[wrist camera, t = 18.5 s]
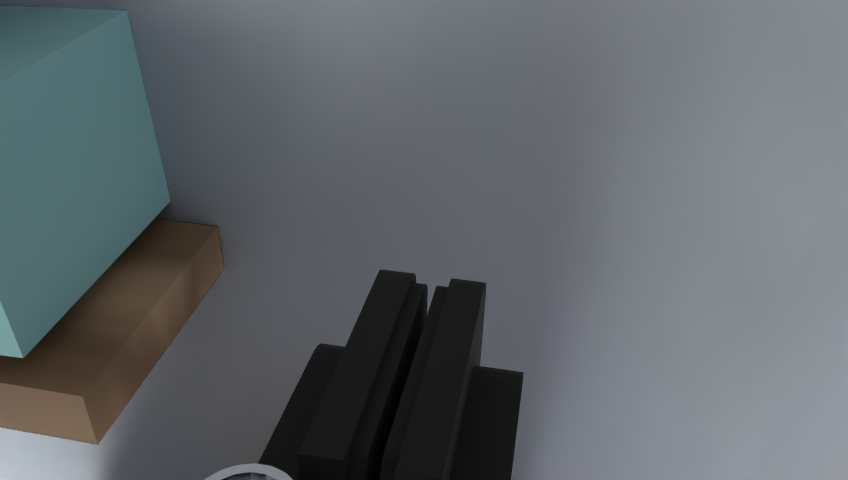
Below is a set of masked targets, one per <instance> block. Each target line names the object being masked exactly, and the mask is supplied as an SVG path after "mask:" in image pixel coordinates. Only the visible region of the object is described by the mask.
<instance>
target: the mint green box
mask: <svg viewBox="0 0 848 480" xmlns="http://www.w3.org/2000/svg"><path fill="white" fill-rule="evenodd" d="M170 201H171V199H170V195H169V191H168V186H167V182H166V178H165V173H164V169H163V165H162V160H161V156H160V152H159V147H158V143H157V139H156V134H155V130H154V126H153V121H152V117H151V113H150V108H149V104H148V100H147V95H146V91H145V87H144V82H143V78H142V74H141V69H140V65H139V61H138V56H137V52H136V48H135V43H134V39H133V35H132V30H131V26H130V22H129V17H128V13H127V10H109V9H84V8H59V7H35V6H10V5H0V355H3V356H10V357H18V358H24V357H25V356H26V355H27V354H28V353H29V352H30V351H31V350H32V349H33V348H34V346H35V345H36V344H37V343H38V342H39V341H40V340H41V339H42V338H43V337H44V336H45V335H46V334H47V333H48V332H49V330H50V329H51V328H52V327H53V326H54V325H55V324H56V323H57V322H58V321H59V320H60V319H61V318H62V317H63V316H64V314H65V313H66V312H67V311H68V310H69V309H70V308H71V307H72V306H73V305H74V304H75V303H76V302H77V301H78V300H79V298H80V297H81V296H82V295H83V294H84V293H85V292H86V291H87V290H88V289H89V288H90V287H91V286H92V285H93V284H94V283H95V281H96V280H97V279H98V278H99V277H100V276H101V275H102V274H103V273H104V272H105V271H106V270H107V269H108V268H109V267H110V265H111V264H112V263H113V262H114V261H115V260H116V259H117V258H118V257H119V256H120V255H121V254H122V253H123V252H124V251H125V249H126V248H127V247H128V246H129V245H130V244H131V243H132V242H133V241H134V240H135V239H136V238H137V237H138V236H139V235H140V233H141V232H142V231H143V230H144V229H145V228H146V227H147V226H148V225H149V224H150V223H151V222H152V221H153V220H154V219H155V217H156V216H157V215H158V214H159V213H160V212H161V211H162V210H163V209H164V208H165V207H166V206H167V205H168V204H169V203H170Z"/></svg>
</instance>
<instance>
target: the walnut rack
mask: <svg viewBox="0 0 848 480" xmlns="http://www.w3.org/2000/svg"><path fill="white" fill-rule="evenodd" d="M223 270H224V265H223V258H222V252H221V245H220V239H219V232H218V227H216V226H208V225H201V224H193V223H185V222H177V221H169V220H162V219H154V220H153V221H152V222H151V223H150V224H149V225H148V226H147V227H146V228H145V229H144V230H143V231H142V232H141V233H140V235H139V236H138V237H137V238H136V239H135V240H134V241H133V242H132V243H131V244H130V245H129V246H128V247H127V248H126V249H125V251H124V252H123V253H122V254H121V255H120V256H119V257H118V258H117V259H116V260H115V261H114V262H113V263H112V264H111V265H110V267H109V268H108V269H107V270H106V271H105V272H104V273H103V274H102V275H101V276H100V277H99V278H98V279H97V280H96V281H95V283H94V284H93V285H92V286H91V287H90V288H89V289H88V290H87V291H86V292H85V293H84V294H83V295H82V296H81V297H80V298H79V300H78V301H77V302H76V303H75V304H74V305H73V306H72V307H71V308H70V309H69V310H68V311H67V312H66V313H65V314H64V316H63V317H62V318H61V319H60V320H59V321H58V322H57V323H56V324H55V325H54V326H53V327H52V328H51V329H50V330H49V332H48V333H47V334H46V335H45V336H44V337H43V338H42V339H41V340H40V341H39V342H38V343H37V344H36V345H35V346H34V348H33V349H32V350H31V351H30V352H29V353H28V354H27V355H26V356H25V357H24V358H18V357H10V356H3V355H0V427H2V428H7V429H13V430H19V431H24V432H30V433H35V434H41V435H47V436H52V437H58V438H63V439H69V440H74V441H80V442H86V443H91V444H97V445H98V443H99V442H100V441H101V439H102V438H103V436H104V435H105V434H106V432H107V431H108V429H109V428H110V427H111V425H112V424H113V422H114V421H115V420H116V418H117V417H118V416H119V414H120V413H121V411H122V410H123V409H124V407H125V406H126V404H127V403H128V402H129V400H130V399H131V397H132V396H133V395H134V393H135V392H136V391H137V389H138V388H139V386H140V385H141V384H142V382H143V381H144V379H145V378H146V377H147V375H148V374H149V372H150V371H151V370H152V368H153V367H154V366H155V364H156V363H157V361H158V360H159V359H160V357H161V356H162V354H163V353H164V352H165V350H166V349H167V347H168V346H169V345H170V343H171V342H172V341H173V339H174V338H175V336H176V335H177V334H178V332H179V331H180V329H181V328H182V327H183V325H184V324H185V322H186V321H187V320H188V318H189V317H190V316H191V314H192V313H193V311H194V310H195V309H196V307H197V306H198V304H199V303H200V302H201V300H202V299H203V297H204V296H205V295H206V293H207V292H208V291H209V289H210V288H211V286H212V285H213V284H214V282H215V281H216V279H217V278H218V277H219V275H220V274H221V272H222V271H223Z"/></svg>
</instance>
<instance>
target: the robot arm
mask: <svg viewBox="0 0 848 480" xmlns="http://www.w3.org/2000/svg"><path fill="white" fill-rule="evenodd" d="M427 296H428V288H427V284H419V283H416V275H415V274H413V273H405V272H397V271H389V270H380V271H379V273H378V275H377V277H376V279H375V281H374V284H373V286H372V288H371V290H370V293H369V295H368V297H367V299H366V302H365V304H364V306H363V308H362V311H361V313H360V315H359V317H358V320H357V322H356V324H355V326H354V329H353V331H352V333H351V335H350V338H349V340H348V342H347V344H346V347H342V346H335V345H328V344H320V345H318V346H317V347H316V349H315V351H314V352H313V354H312V356H311V358H310V360H309V362H308V364H307V366H306V368H305V370H304V372H303V374H302V376H301V378H300V380H299V382H298V384H297V386H296V388H295V390H294V392H293V394H292V396H291V398H290V400H289V402H288V404H287V406H286V408H285V410H284V412H283V414H282V416H281V418H280V420H279V422H278V424H277V426H276V429H275V431H274V433H273V435H272V437H271V439H270V441H269V443H268V445H267V447H266V449H265V451H264V453H263V455H262V457H261V459H260V461H259V463H258V464H256V463H253V464H240V465H235V466H232V467H229V468H226V469H222V470H220V471H218V472H216V473H215V474H213V475H211V476H209V477H208V478H206V479H205V480H511V473H512V465H513V457H514V449H515V440H516V432H517V424H518V415H519V407H520V399H521V390H522V382H523V374H524V373H523V372H516V371H509V370H502V369H495V368H488V367H481V366H480V357H481V345H482V333H483V321H484V309H485V296H486V283H483V282H476V281H468V280H460V279H451V281H450V284H449V287H443V286H437V287H436V289H435V292H434V296H433V299H432V302H431V305H430V308H429V311H428V314H427Z"/></svg>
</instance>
